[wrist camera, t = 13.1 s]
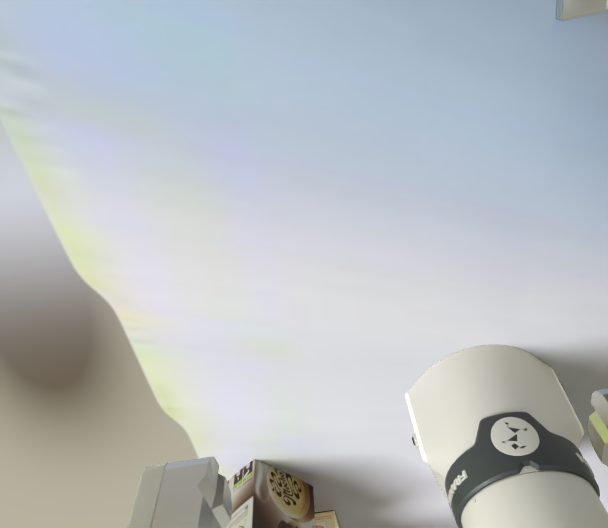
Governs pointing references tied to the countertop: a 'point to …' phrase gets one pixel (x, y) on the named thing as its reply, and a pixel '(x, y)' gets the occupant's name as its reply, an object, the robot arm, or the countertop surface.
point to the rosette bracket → (579, 8)
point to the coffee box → (270, 499)
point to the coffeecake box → (326, 520)
